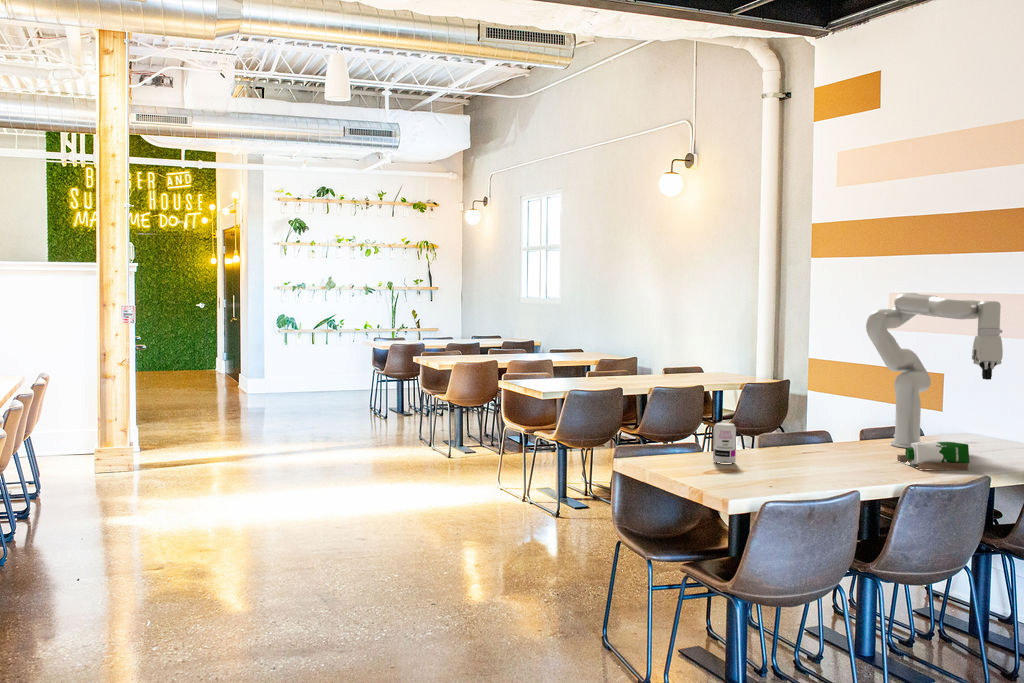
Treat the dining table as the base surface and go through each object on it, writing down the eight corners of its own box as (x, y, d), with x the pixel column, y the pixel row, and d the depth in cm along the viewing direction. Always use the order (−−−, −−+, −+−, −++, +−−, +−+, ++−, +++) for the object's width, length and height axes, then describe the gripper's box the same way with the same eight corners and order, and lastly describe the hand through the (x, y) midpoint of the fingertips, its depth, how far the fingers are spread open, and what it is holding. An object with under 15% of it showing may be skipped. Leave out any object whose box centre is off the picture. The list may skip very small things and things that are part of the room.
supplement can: (727, 460, 331) (728, 421, 330) (739, 464, 323) (740, 425, 322) (709, 461, 328) (709, 422, 327) (720, 465, 320) (721, 426, 319)
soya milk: (960, 441, 322) (904, 441, 325) (969, 441, 313) (911, 442, 316) (961, 464, 321) (905, 465, 324) (970, 466, 312) (913, 466, 315)
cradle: (897, 461, 329) (897, 454, 329) (942, 460, 330) (942, 454, 330) (920, 470, 313) (920, 463, 313) (967, 469, 314) (967, 463, 314)
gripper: (1001, 332, 338) (999, 378, 339) (964, 332, 337) (962, 378, 338) (1013, 333, 331) (1011, 380, 332) (975, 333, 330) (973, 380, 331)
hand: (986, 379), depth 335 cm, fingers closed
